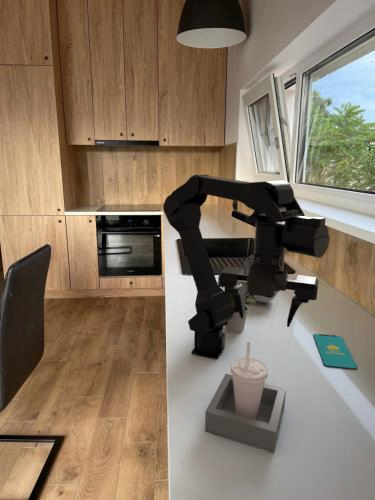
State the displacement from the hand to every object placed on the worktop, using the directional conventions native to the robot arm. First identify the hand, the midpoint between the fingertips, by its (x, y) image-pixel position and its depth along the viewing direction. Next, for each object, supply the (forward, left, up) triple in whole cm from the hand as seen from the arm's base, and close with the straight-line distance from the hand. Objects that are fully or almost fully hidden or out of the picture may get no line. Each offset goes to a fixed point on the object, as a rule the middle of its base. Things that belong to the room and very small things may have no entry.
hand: (264, 322), depth 70 cm
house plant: (-10, +20, -13) cm, 26 cm away
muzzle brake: (-11, +51, -13) cm, 54 cm away
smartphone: (+14, +18, -14) cm, 27 cm away
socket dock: (0, -13, -13) cm, 18 cm away
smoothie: (0, -13, -13) cm, 18 cm away
